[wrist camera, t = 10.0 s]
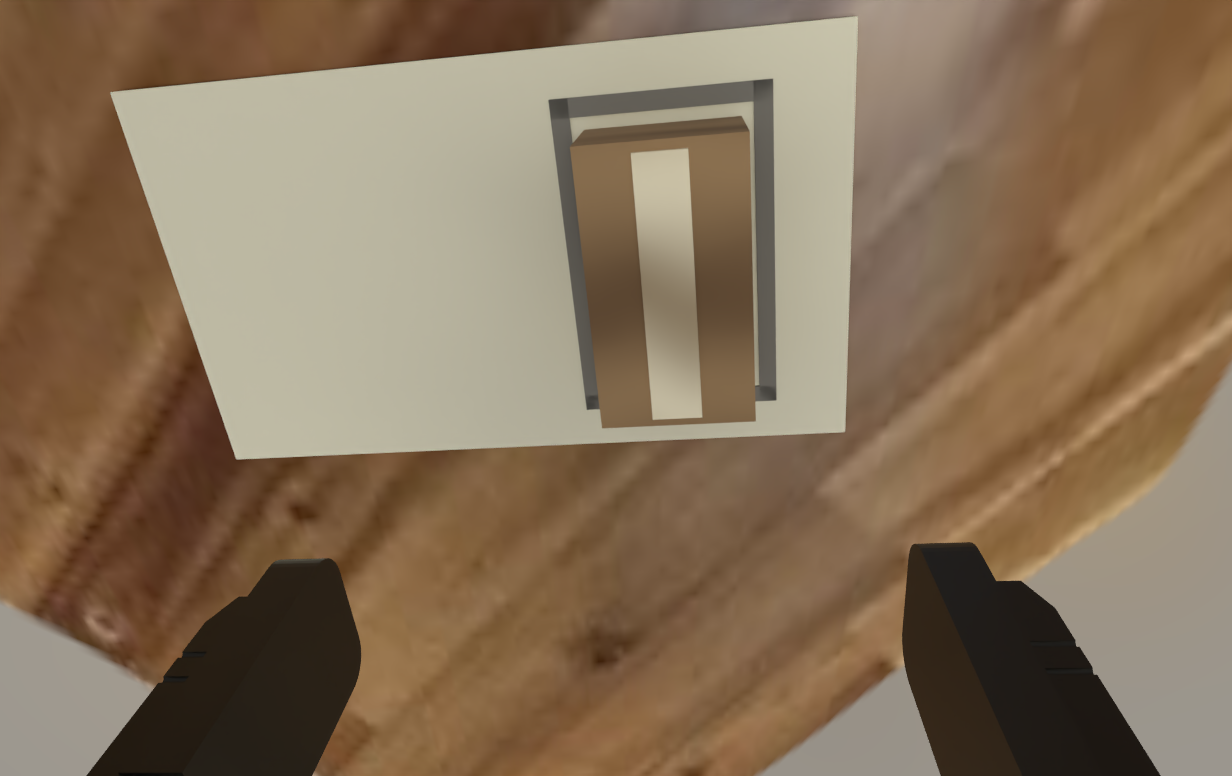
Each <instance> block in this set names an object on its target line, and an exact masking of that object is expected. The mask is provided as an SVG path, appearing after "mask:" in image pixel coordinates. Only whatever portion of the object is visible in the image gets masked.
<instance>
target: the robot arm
mask: <svg viewBox="0 0 1232 776" xmlns="http://www.w3.org/2000/svg"><path fill="white" fill-rule="evenodd" d="M902 644H903V656H904V663H905V668H906V673H907V677H908V681H909V684H910V687H911V690H912V693H913V696H914V698H915V701H916V705H917V707H918V710H919V713H920V716H921V719H922V722H923V725H924V728H925V731H926V733H927V737H928V739H929V743H930V745H931V748H932V751H933V754H934V756H935V760H936V763H937V766H938V769H939V772H940V774H941V776H1160V774H1159V772H1158V771H1157V769H1156V768H1155V766H1154V764H1153V763H1152V761H1151V760H1150V758H1149V756H1148V755H1147V753H1146V752H1145V750H1144V749H1143V747H1142V745H1141V744H1140V742H1139V741H1138V739H1137V737H1136V736H1135V734H1134V733H1133V731H1132V730H1131V728H1130V726H1129V725H1128V723H1127V722H1126V720H1125V718H1124V717H1123V715H1122V714H1121V712H1120V711H1119V709H1118V707H1117V706H1116V704H1115V702H1114V701H1113V699H1112V698H1111V696H1110V695H1109V693H1108V691H1107V690H1106V688H1105V687H1104V685H1103V684H1102V682H1101V680H1100V679H1099V677H1098V675H1094V674H1093V670H1092V666H1091V664H1090V663H1089V661H1088V660H1087V658H1086V656H1085V655H1084V653H1083V652H1082V650H1081V648H1080V647H1076V643H1075V639H1074V637H1073V636H1072V634H1071V633H1070V631H1069V629H1068V628H1067V626H1066V625H1065V623H1064V621H1063V620H1062V619H1061V617H1060V615H1059V614H1058V612H1057V610H1056V609H1055V608H1054V607H1053V606H1052V605H1050V604H1049V603H1048V602H1047V601H1046V600H1044V599H1043V598H1042V597H1040V596H1039V595H1038V594H1037V593H1035V592H1034V591H1033V590H1032V589H1030V588H1029V587H1028V586H1027V585H1025V584H1024V583H1023V582H1022V581H996V580H995V578H994V576H993V575H992V573H991V571H990V569H989V567H988V566H987V564H986V562H985V560H984V558H983V557H982V555H981V553H980V551H979V550H978V548H977V547H976V545H975V544H973V543H971V542H966V543H930V544H913V545H912V547H911V549H910V553H909V560H908V572H907V584H906V595H905V607H904V619H903V632H902ZM360 664H361V645H360V640H359V636H358V632H357V629H356V625H355V622H354V619H353V615H352V612H351V608H350V605H349V601H348V598H347V595H346V591H345V588H344V584H343V581H342V577H341V574H340V571H339V568H338V566H337V564H336V563H335V562H334V561H333V560H332V559H329V558H328V559H292V560H278V561H275V562H274V563H273V564H272V565H271V566H270V567H269V568H268V569H267V571H266V572H265V574H264V575H263V576H262V578H261V579H260V580H259V582H258V583H257V584H256V586H255V587H254V588H253V590H252V591H251V593H250V594H249V595H248V597H238V598H236V599H235V600H234V601H233V602H231V603H230V604H229V605H227V606H226V607H225V608H223V609H222V610H221V611H220V612H218V613H217V614H216V615H214V616H213V617H212V618H210V619H209V620H208V621H206V622H205V623H204V625H203V626H202V627H201V629H200V630H199V631H198V632H197V634H196V635H195V636H194V638H193V639H192V640H191V642H190V643H189V644H188V645H187V647H186V648H185V649H184V651H183V656H182V658H177V660H176V661H175V662H174V663H173V665H172V666H171V667H170V669H169V670H168V671H167V672H166V674H165V675H164V676H163V677H164V680H163V682H162V683H158V684H157V685H156V687H155V688H154V689H153V691H152V692H151V693H150V694H149V696H148V697H147V698H146V700H145V701H144V702H143V703H142V705H141V706H140V707H139V709H138V710H137V711H136V713H135V714H134V715H133V716H132V718H131V719H130V720H129V722H128V723H127V724H126V725H125V727H124V728H123V729H122V731H121V732H120V733H119V735H118V736H117V737H116V738H115V740H114V741H113V742H112V743H111V745H110V746H109V747H108V749H107V750H106V751H105V753H104V754H103V755H102V756H101V758H100V759H99V760H98V762H97V763H96V764H95V765H94V767H93V768H92V769H91V771H90V772H89V773H88V774H87V776H312V775H313V773H314V771H315V769H316V766H317V764H318V762H319V760H320V758H321V756H322V754H323V752H324V750H325V748H326V746H327V744H328V741H329V739H330V737H331V735H332V733H333V731H334V729H335V727H336V725H337V723H338V721H339V719H340V716H341V714H342V712H343V710H344V708H345V706H346V704H347V702H348V700H349V698H350V696H351V694H352V691H353V689H354V687H355V685H356V682H357V679H358V675H359V671H360Z"/></svg>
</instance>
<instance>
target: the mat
mask: <svg viewBox="0 0 1232 776" xmlns="http://www.w3.org/2000/svg"><path fill="white" fill-rule="evenodd" d="M857 35H858V16H851V17H841V18H832V19H822V20H812V21H802V22H792V23H783V24H773V25H763V26H753V27H743V28H733V29H724V30H714V31H704V32H694V33H684V34H675V35H665V36H655V37H645V38H635V39H625V40H616V41H606V42H596V43H586V44H576V45H567V46H557V47H547V48H537V49H527V50H517V51H508V52H498V53H488V54H478V55H468V56H459V57H449V58H439V59H429V60H419V61H410V62H400V63H390V64H380V65H370V66H360V67H351V68H341V69H331V70H321V71H311V72H302V73H292V74H282V75H272V76H262V77H252V78H243V79H233V80H223V81H213V82H203V83H194V84H184V85H174V86H164V87H154V88H144V89H135V90H125V91H116V92H110V94H111V97H112V100H113V103H114V106H115V108H116V111H117V114H118V117H119V120H120V123H121V126H122V129H123V132H124V135H125V137H126V140H127V143H128V146H129V149H130V152H131V155H132V158H133V161H134V164H135V166H136V169H137V172H138V175H139V178H140V181H141V184H142V187H143V190H144V193H145V196H146V198H147V201H148V204H149V207H150V210H151V213H152V216H153V219H154V222H155V225H156V227H157V230H158V233H159V236H160V239H161V242H162V245H163V248H164V251H165V254H166V257H167V259H168V262H169V265H170V268H171V271H172V274H173V277H174V280H175V283H176V286H177V288H178V291H179V294H180V297H181V300H182V303H183V306H184V309H185V312H186V315H187V317H188V320H189V323H190V326H191V329H192V332H193V335H194V338H195V341H196V344H197V347H198V349H199V352H200V355H201V358H202V361H203V364H204V367H205V370H206V373H207V376H208V378H209V381H210V384H211V387H212V390H213V393H214V396H215V399H216V402H217V405H218V408H219V410H220V413H221V416H222V419H223V422H224V425H225V428H226V431H227V434H228V437H229V439H230V442H231V445H232V448H233V451H234V454H235V457H236V459H257V458H279V457H302V456H324V455H346V454H369V453H391V452H413V451H436V450H458V449H480V448H502V447H525V446H547V445H569V444H592V443H614V442H636V441H658V440H681V439H703V438H725V437H748V436H770V435H792V434H814V433H837V432H845V421H846V389H847V357H848V325H849V292H850V260H851V228H852V196H853V164H854V132H855V99H856V67H857ZM735 116H742V118H743V120H744V121H745V123H746V125H747V127H748V129H749V131H750V167H751V215H752V263H753V312H754V360H755V408H756V421H755V422H733V423H711V424H689V425H667V426H645V427H622V428H602V424H601V415H600V406H599V398H598V389H597V380H596V371H595V363H594V354H593V345H592V336H591V327H590V319H589V310H588V301H587V292H586V284H585V275H584V266H583V257H582V249H581V240H580V231H579V222H578V214H577V205H576V196H575V187H574V178H573V170H572V161H571V152H570V146H571V145H572V144H573V142H574V141H575V140H576V139H577V138H578V136H579V135H580V134H581V133H582V132H583V130H586V129H597V128H609V127H620V126H632V125H643V124H655V123H666V122H677V121H689V120H700V119H712V118H723V117H735Z"/></svg>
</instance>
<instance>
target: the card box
mask: <svg viewBox="0 0 1232 776" xmlns="http://www.w3.org/2000/svg"><path fill="white" fill-rule="evenodd" d="M570 152H571V161H572V170H573V178H574V187H575V196H576V205H577V214H578V222H579V231H580V240H581V249H582V257H583V266H584V275H585V284H586V292H587V301H588V310H589V319H590V327H591V336H592V345H593V354H594V363H595V371H596V380H597V389H598V398H599V406H600V415H601V424H602V428H622V427H645V426H667V425H689V424H711V423H733V422H755V421H756V408H755V360H754V312H753V263H752V215H751V167H750V131H749V129H748V127H747V125H746V123H745V121H744V120H743V118H742V116H735V117H723V118H712V119H700V120H689V121H677V122H666V123H655V124H643V125H632V126H620V127H609V128H597V129H586V130H583V132H582V133H581V134H580V135H579V136H578V138H577V139H576V140H575V141H574V142H573V144H572V145H571V146H570Z"/></svg>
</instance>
